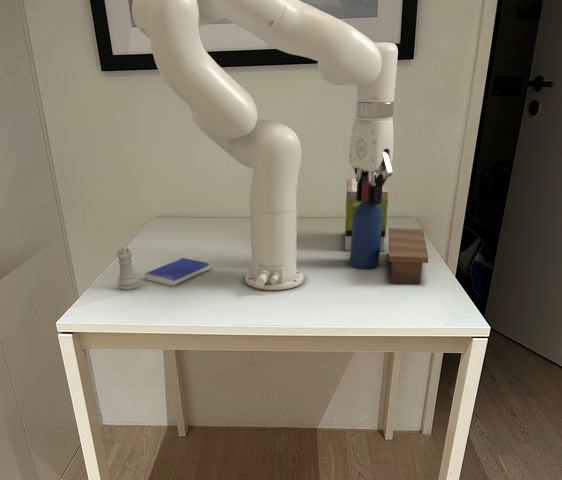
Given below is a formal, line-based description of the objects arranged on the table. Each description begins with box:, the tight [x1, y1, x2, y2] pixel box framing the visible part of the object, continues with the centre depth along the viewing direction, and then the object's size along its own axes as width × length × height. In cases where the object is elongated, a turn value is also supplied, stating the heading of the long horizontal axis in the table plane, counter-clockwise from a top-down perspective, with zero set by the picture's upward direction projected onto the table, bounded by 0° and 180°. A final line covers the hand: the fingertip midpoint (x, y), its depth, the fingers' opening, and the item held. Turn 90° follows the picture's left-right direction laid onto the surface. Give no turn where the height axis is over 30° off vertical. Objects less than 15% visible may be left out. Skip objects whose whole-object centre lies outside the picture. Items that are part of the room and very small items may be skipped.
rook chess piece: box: [115, 247, 140, 291], centre depth 121 cm, size 4×4×8 cm
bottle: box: [349, 200, 383, 269], centre depth 131 cm, size 7×7×18 cm
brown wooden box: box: [388, 227, 429, 285], centre depth 131 cm, size 22×8×6 cm, turn 171°
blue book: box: [144, 257, 211, 287], centre depth 129 cm, size 2×8×12 cm
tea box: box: [344, 178, 389, 252], centre depth 146 cm, size 15×10×15 cm, turn 175°
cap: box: [361, 181, 371, 201], centre depth 127 cm, size 4×4×4 cm
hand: (368, 201), depth 128 cm, fingers closed on cap, 3 cm apart
